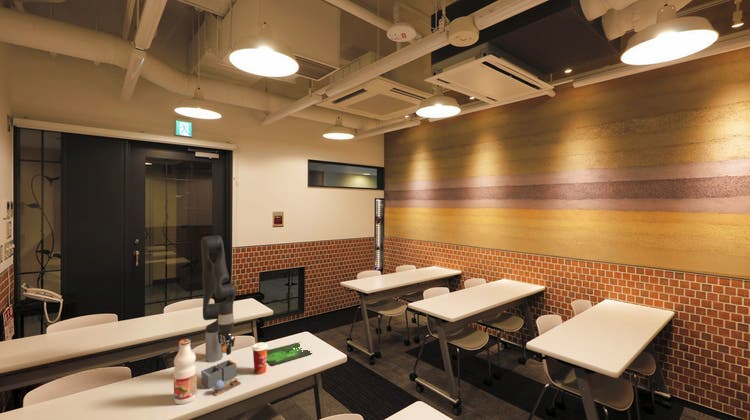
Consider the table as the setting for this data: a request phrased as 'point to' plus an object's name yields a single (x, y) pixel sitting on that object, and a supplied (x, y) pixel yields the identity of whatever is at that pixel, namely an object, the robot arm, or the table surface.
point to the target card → (228, 382)
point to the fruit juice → (185, 374)
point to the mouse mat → (285, 354)
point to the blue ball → (219, 385)
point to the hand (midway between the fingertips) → (226, 352)
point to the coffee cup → (260, 357)
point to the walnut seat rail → (227, 387)
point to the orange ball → (224, 348)
